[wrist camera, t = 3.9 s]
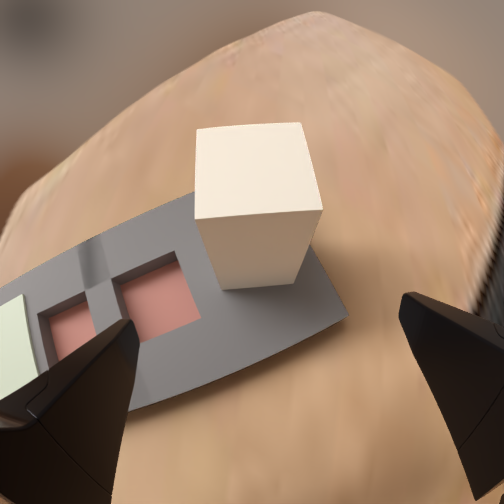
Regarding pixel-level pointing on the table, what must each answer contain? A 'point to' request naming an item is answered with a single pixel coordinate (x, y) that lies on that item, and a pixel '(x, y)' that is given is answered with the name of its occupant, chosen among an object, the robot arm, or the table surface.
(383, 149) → the table surface
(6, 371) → the board
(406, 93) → the table surface
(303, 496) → the table surface
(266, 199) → the cream block
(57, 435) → the robot arm
